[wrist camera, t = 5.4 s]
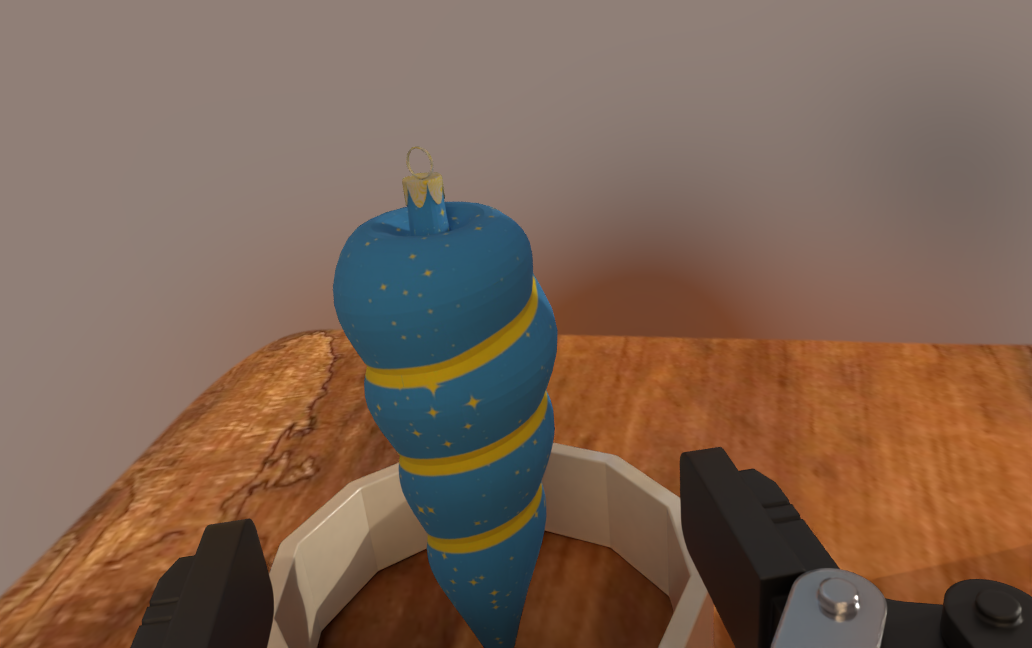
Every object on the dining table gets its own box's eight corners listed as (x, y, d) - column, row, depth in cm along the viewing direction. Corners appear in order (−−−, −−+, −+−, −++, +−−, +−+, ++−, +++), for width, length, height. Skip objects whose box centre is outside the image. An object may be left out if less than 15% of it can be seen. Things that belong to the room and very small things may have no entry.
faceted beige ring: (549, 481, 31) (542, 404, 30) (801, 684, 21) (808, 583, 20) (239, 623, 26) (212, 536, 24) (389, 983, 16) (359, 873, 15)
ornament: (525, 756, 20) (448, 180, 14) (373, 684, 23) (253, 171, 17) (611, 619, 24) (578, 124, 18) (472, 571, 27) (404, 124, 21)
